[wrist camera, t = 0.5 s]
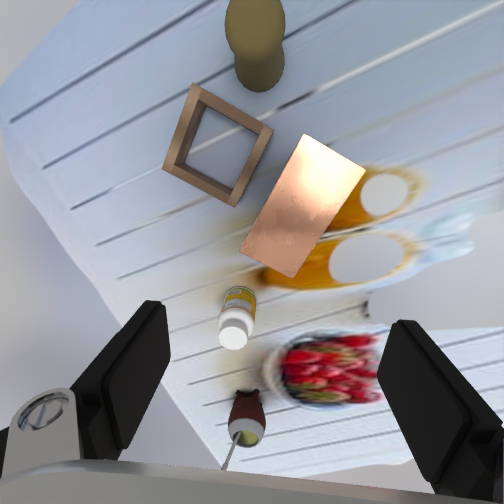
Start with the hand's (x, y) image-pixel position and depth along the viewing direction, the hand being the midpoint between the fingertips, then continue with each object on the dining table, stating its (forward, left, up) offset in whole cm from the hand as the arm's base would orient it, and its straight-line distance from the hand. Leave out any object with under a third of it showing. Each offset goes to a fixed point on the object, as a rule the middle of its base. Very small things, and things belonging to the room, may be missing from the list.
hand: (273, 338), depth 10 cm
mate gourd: (+38, +15, -28) cm, 50 cm away
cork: (-14, -10, -28) cm, 33 cm away
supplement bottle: (+17, +3, -28) cm, 33 cm away
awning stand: (-3, 0, -28) cm, 28 cm away
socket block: (-3, -10, -28) cm, 30 cm away
